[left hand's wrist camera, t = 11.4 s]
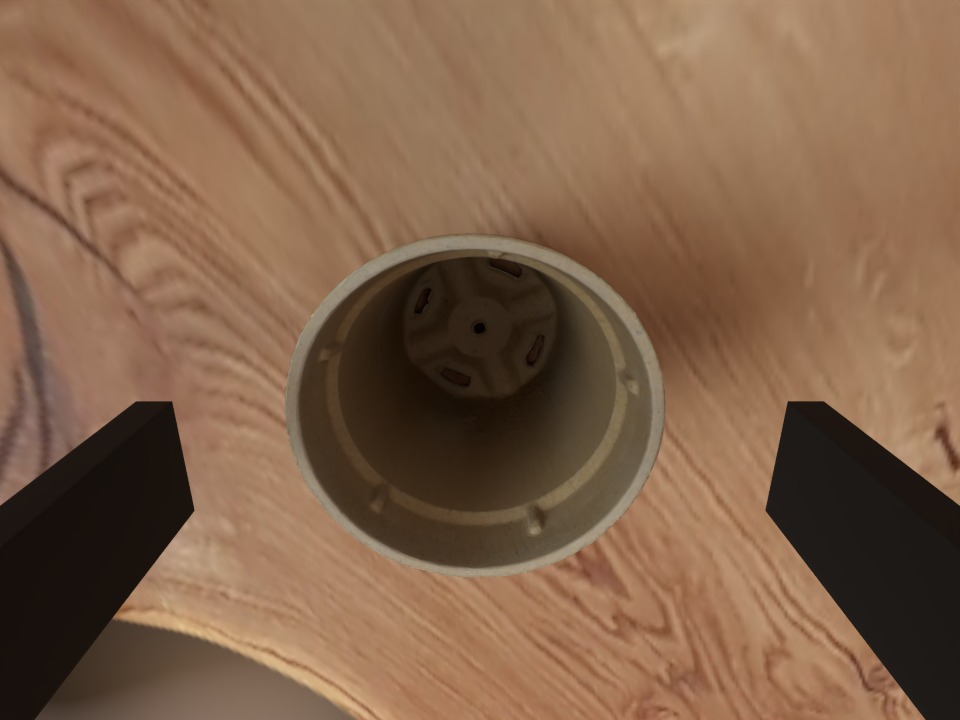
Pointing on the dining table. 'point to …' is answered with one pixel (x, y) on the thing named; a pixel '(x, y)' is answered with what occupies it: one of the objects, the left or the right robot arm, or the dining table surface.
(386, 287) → the beige plant pot
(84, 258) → the dining table surface
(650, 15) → the dining table surface
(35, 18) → the dining table surface
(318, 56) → the dining table surface
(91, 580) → the left robot arm
